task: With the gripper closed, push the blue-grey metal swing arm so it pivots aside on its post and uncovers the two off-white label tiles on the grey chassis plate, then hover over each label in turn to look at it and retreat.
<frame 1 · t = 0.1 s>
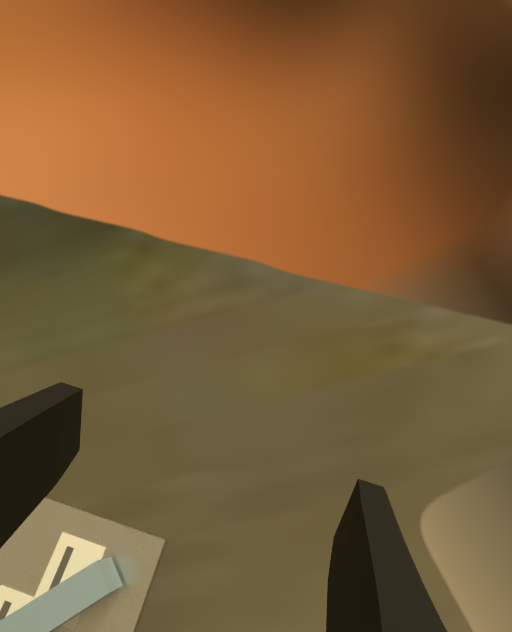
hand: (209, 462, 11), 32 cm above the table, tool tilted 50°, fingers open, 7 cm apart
chassis: (39, 627, 37), on the table
psu label a: (68, 578, 37), resting on chassis
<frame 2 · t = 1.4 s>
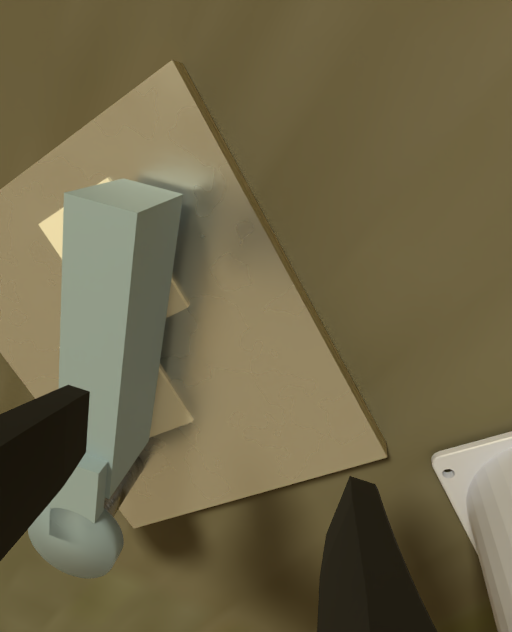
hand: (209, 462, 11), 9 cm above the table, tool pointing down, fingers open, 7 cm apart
chassis: (157, 340, 22), on the table
swing arm: (107, 396, 19), point 4 cm above the table, hinge at 0.0°
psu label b: (127, 382, 22), resting on chassis
psu label a: (115, 264, 19), resting on chassis
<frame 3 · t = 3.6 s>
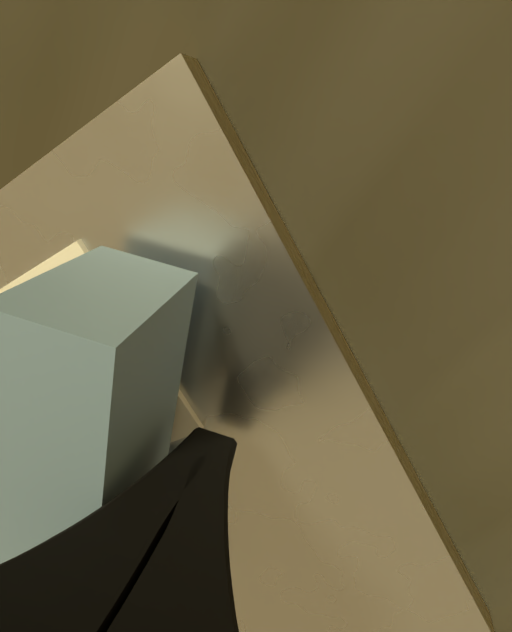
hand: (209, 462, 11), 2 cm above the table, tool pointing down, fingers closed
chassis: (156, 458, 15), on the table
swing arm: (79, 574, 12), point 4 cm above the table, hinge at 0.0°, touching gripper
psu label a: (92, 364, 13), resting on chassis
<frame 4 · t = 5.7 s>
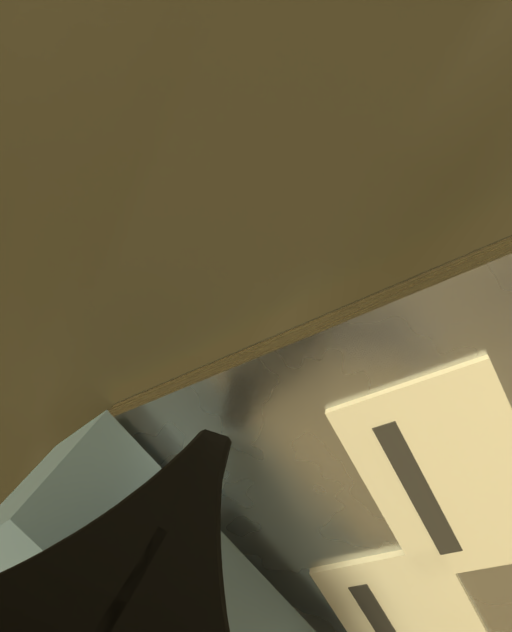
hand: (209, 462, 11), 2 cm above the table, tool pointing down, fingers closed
chassis: (460, 561, 14), on the table
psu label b: (412, 625, 14), resting on chassis
psu label a: (448, 477, 12), resting on chassis
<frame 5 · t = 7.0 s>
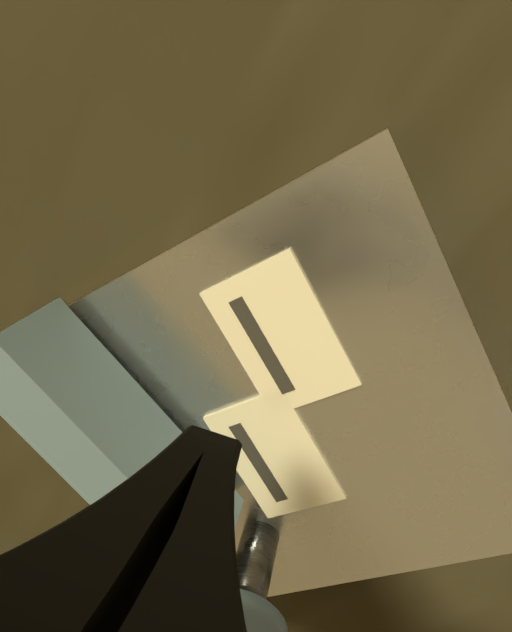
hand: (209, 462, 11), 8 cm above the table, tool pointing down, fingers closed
chassis: (307, 411, 20), on the table
swing arm: (151, 488, 19), point 4 cm above the table, hinge at 52.0°
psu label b: (275, 455, 20), resting on chassis
psu label a: (281, 337, 18), resting on chassis
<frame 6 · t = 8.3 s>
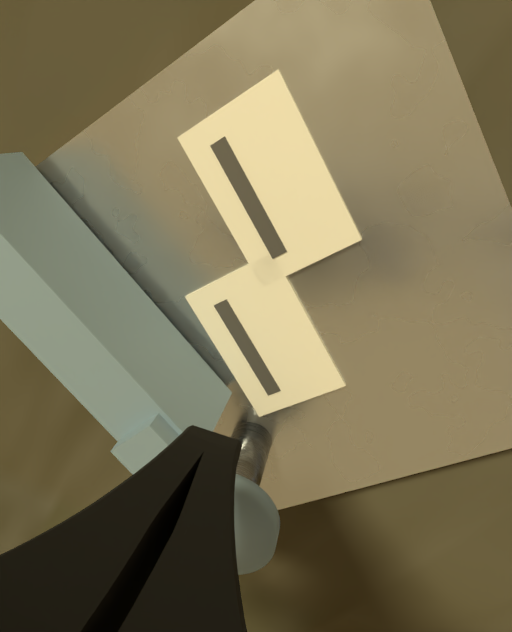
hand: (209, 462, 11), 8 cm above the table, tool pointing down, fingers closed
chassis: (302, 288, 18), on the table
swing arm: (125, 365, 17), point 4 cm above the table, hinge at 52.0°
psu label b: (266, 339, 18), resting on chassis
psu label a: (270, 187, 16), resting on chassis
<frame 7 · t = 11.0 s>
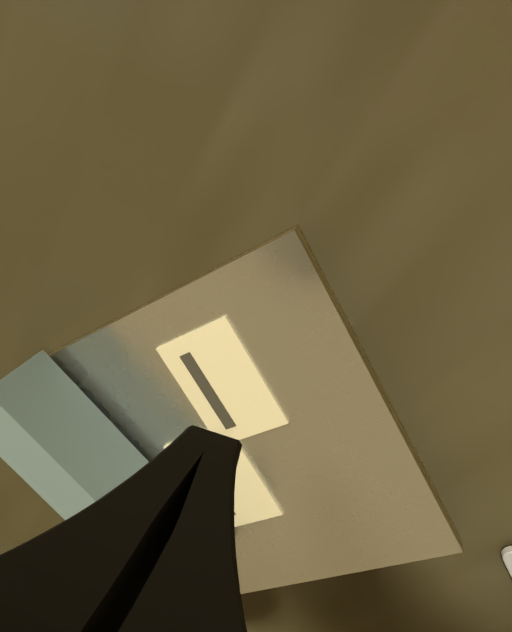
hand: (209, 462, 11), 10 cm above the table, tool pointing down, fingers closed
chassis: (251, 441, 24), on the table
swing arm: (118, 507, 23), point 4 cm above the table, hinge at 52.0°
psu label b: (224, 478, 24), resting on chassis
psu label a: (223, 384, 22), resting on chassis
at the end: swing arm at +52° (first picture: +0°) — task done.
